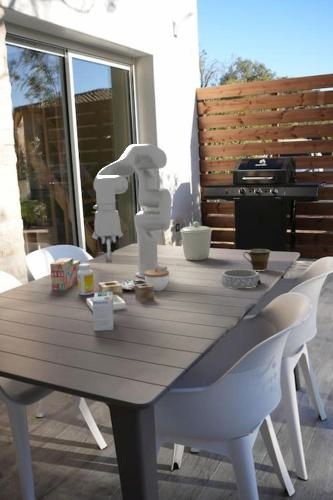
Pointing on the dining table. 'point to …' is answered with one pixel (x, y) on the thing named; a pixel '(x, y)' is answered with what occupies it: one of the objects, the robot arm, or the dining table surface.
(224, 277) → the dog bowl
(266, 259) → the ceramic cup
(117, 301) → the tray
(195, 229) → the canister
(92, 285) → the supplement bottle
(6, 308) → the dining table surface
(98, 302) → the light bulb box
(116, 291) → the oak block
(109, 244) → the steel pin
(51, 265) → the stack of blocks
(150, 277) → the lidded jar
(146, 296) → the walnut block
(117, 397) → the dining table surface
